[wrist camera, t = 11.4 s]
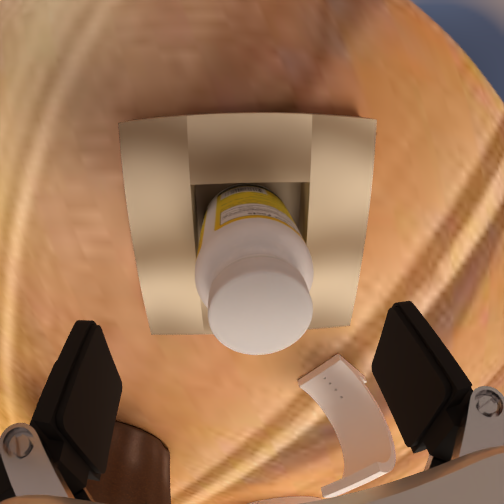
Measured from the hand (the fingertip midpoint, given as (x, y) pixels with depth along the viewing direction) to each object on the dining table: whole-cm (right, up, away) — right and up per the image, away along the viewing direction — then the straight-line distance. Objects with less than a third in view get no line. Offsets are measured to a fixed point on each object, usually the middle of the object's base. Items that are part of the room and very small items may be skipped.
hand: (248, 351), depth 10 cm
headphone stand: (+8, -9, +19) cm, 22 cm away
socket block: (0, +5, +11) cm, 12 cm away
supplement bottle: (0, +5, +11) cm, 12 cm away
